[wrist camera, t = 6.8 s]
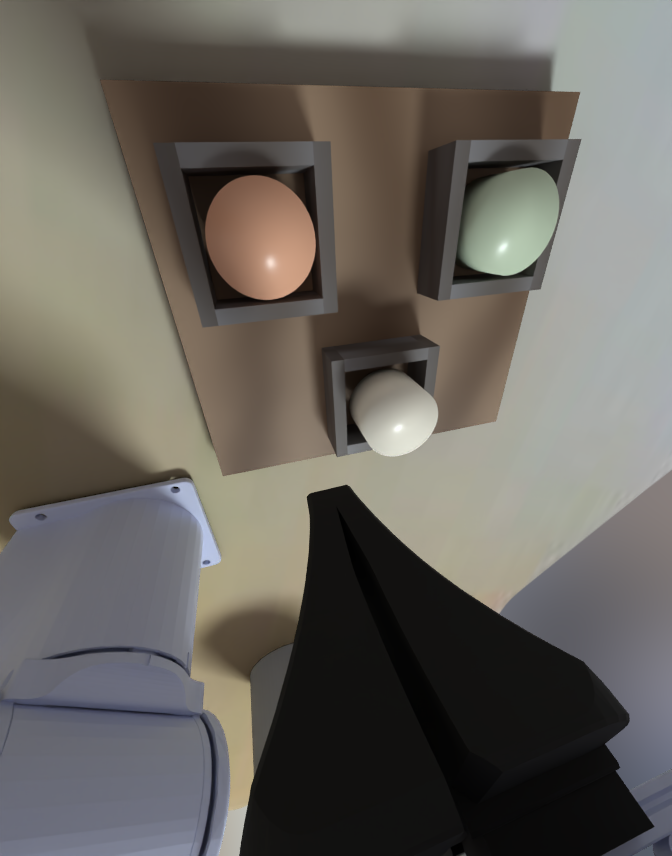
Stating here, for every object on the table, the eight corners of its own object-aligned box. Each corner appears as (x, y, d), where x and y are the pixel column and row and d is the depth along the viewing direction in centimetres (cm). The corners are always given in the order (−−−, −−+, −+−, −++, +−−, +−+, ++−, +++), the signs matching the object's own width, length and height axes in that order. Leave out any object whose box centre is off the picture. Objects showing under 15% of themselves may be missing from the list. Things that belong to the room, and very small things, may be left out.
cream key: (350, 436, 17) (365, 462, 15) (348, 374, 16) (365, 395, 14) (411, 424, 18) (433, 448, 16) (417, 363, 16) (442, 382, 14)
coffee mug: (230, 676, 33) (228, 824, 25) (310, 628, 32) (336, 764, 24) (301, 700, 41) (318, 820, 33) (367, 662, 40) (402, 774, 32)
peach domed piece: (222, 293, 13) (220, 304, 11) (198, 185, 12) (190, 176, 10) (307, 285, 14) (319, 294, 12) (298, 181, 12) (310, 173, 10)
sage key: (439, 272, 15) (470, 279, 13) (450, 177, 13) (487, 168, 11) (505, 266, 16) (543, 271, 14) (524, 174, 14) (571, 166, 12)
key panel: (223, 460, 20) (221, 500, 17) (114, 95, 11) (73, 50, 8) (482, 410, 23) (516, 436, 20) (551, 103, 15) (628, 73, 12)
